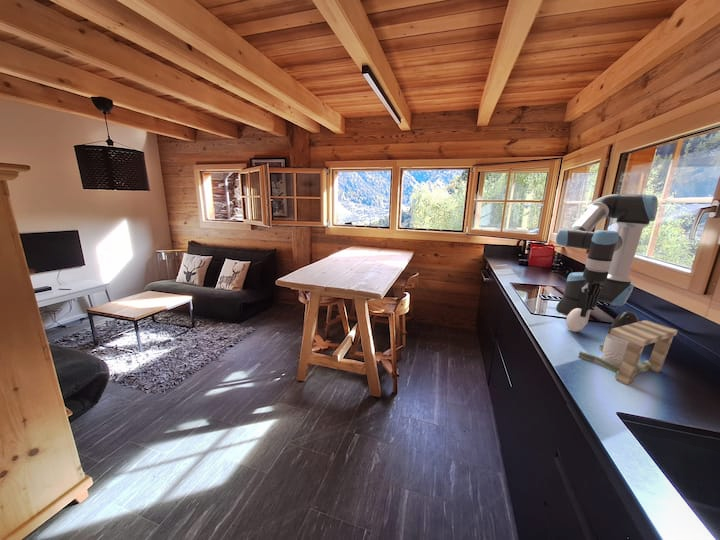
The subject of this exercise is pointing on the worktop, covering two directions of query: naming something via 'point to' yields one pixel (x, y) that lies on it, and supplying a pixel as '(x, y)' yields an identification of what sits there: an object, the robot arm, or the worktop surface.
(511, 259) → the worktop surface
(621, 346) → the white cup
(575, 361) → the worktop surface
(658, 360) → the wooden slatted bench
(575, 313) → the egg
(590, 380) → the worktop surface
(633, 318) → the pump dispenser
